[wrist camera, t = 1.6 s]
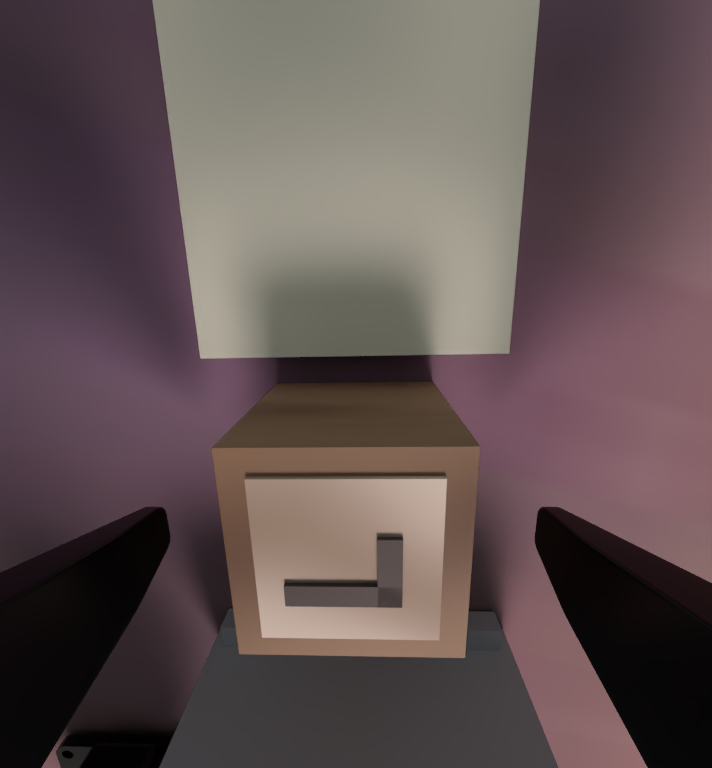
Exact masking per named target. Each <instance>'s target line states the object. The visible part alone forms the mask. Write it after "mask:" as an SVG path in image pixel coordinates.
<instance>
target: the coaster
mask: <svg viewBox="0 0 712 768" xmlns="http://www.w3.org/2000/svg"><path fill="white" fill-rule="evenodd" d="M152 1H153V8H154V16H155V23H156V31H157V38H158V45H159V53H160V60H161V68H162V75H163V83H164V90H165V98H166V105H167V113H168V120H169V128H170V135H171V143H172V150H173V158H174V165H175V172H176V180H177V187H178V195H179V202H180V210H181V217H182V225H183V232H184V240H185V247H186V255H187V262H188V270H189V277H190V285H191V292H192V299H193V307H194V314H195V322H196V329H197V337H198V344H199V352H200V359H206V358H267V357H328V356H389V355H451V354H509V351H510V339H511V328H512V316H513V305H514V293H515V281H516V270H517V258H518V247H519V235H520V224H521V212H522V201H523V189H524V178H525V166H526V155H527V143H528V132H529V120H530V109H531V97H532V86H533V74H534V63H535V51H536V40H537V28H538V17H539V5H540V0H152Z"/></svg>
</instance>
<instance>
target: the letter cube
mask: <svg viewBox="0 0 712 768" xmlns="http://www.w3.org/2000/svg"><path fill="white" fill-rule="evenodd" d="M212 456H213V463H214V471H215V478H216V485H217V493H218V500H219V508H220V515H221V523H222V530H223V537H224V545H225V552H226V560H227V567H228V574H229V582H230V589H231V597H232V604H233V612H234V619H235V626H236V634H237V641H238V649H239V654H257V655H316V656H374V657H432V658H465V653H466V639H467V625H468V611H469V597H470V583H471V569H472V556H473V542H474V528H475V514H476V500H477V486H478V473H479V459H480V445H479V444H478V443H477V441H476V440H475V439H474V437H473V436H472V434H471V433H470V432H469V430H468V429H467V428H466V426H465V425H464V424H463V422H462V421H461V419H460V418H459V417H458V415H457V414H456V413H455V411H454V410H453V409H452V407H451V406H450V404H449V403H448V402H447V400H446V399H445V398H444V396H443V395H442V394H441V392H440V391H439V389H438V388H437V387H436V385H435V384H434V383H433V381H417V382H340V383H277V384H276V385H275V386H274V387H273V388H272V389H271V390H270V391H269V392H268V393H267V394H266V395H265V396H264V397H263V398H262V399H261V400H260V401H259V402H258V403H257V404H256V405H255V406H254V407H253V408H252V409H251V410H250V411H249V412H248V413H247V414H246V415H245V416H244V417H243V418H241V419H240V420H239V421H238V422H237V423H236V424H235V425H234V426H233V427H232V428H231V429H230V430H229V431H228V432H227V433H226V434H225V435H224V436H223V437H222V438H221V439H220V440H219V441H218V442H217V443H216V444H215V445H214V446H213V447H212Z"/></svg>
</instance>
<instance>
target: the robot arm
mask: <svg viewBox="0 0 712 768" xmlns="http://www.w3.org/2000/svg"><path fill="white" fill-rule="evenodd" d="M169 543H170V531H169V525H168V520H167V514H166V511H165V509H164V508H162V507H145V508H142V509H140V510H138V511H136V512H134V513H131V514H129V515H127V516H125V517H122V518H120V519H118V520H116V521H114V522H111V523H109V524H107V525H105V526H103V527H100V528H98V529H96V530H94V531H92V532H89V533H87V534H85V535H83V536H80V537H78V538H76V539H74V540H72V541H69V542H67V543H65V544H63V545H61V546H58V547H56V548H54V549H52V550H50V551H47V552H45V553H43V554H41V555H39V556H36V557H34V558H32V559H30V560H27V561H25V562H23V563H21V564H19V565H16V566H14V567H12V568H10V569H8V570H5V571H3V572H1V573H0V768H41V767H42V766H43V764H44V762H45V761H46V759H47V757H48V756H49V754H50V752H51V751H52V749H53V748H54V746H55V744H56V743H57V741H58V739H59V738H60V736H61V734H62V733H63V731H64V729H65V728H66V726H67V724H68V723H69V721H70V720H71V718H72V716H73V715H74V713H75V711H76V710H77V708H78V706H79V705H80V703H81V701H82V700H83V698H84V697H85V695H86V693H87V692H88V690H89V688H90V687H91V685H92V683H93V682H94V680H95V678H96V677H97V675H98V674H99V672H100V670H101V669H102V667H103V665H104V664H105V662H106V660H107V659H108V657H109V655H110V654H111V652H112V650H113V649H114V647H115V646H116V644H117V642H118V641H119V639H120V637H121V636H122V634H123V632H124V631H125V629H126V627H127V626H128V624H129V623H130V621H131V619H132V617H133V616H134V614H135V612H136V611H137V609H138V607H139V605H140V603H141V601H142V599H143V597H144V595H145V593H146V591H147V589H148V587H149V585H150V583H151V581H152V579H153V577H154V575H155V573H156V571H157V569H158V567H159V565H160V563H161V561H162V559H163V557H164V555H165V553H166V551H167V549H168V546H169ZM535 544H536V548H537V551H538V553H539V555H540V558H541V560H542V562H543V565H544V567H545V569H546V572H547V574H548V576H549V579H550V581H551V584H552V586H553V588H554V591H555V593H556V595H557V598H558V600H559V602H560V605H561V607H562V609H563V611H564V613H565V615H566V617H567V619H568V621H569V623H570V625H571V627H572V629H573V631H574V633H575V634H576V636H577V638H578V640H579V642H580V644H581V645H582V647H583V649H584V651H585V653H586V655H587V656H588V658H589V660H590V662H591V664H592V666H593V668H594V669H595V671H596V673H597V675H598V677H599V679H600V680H601V682H602V684H603V686H604V688H605V690H606V692H607V693H608V695H609V697H610V699H611V701H612V703H613V704H614V706H615V708H616V710H617V712H618V714H619V716H620V717H621V719H622V721H623V723H624V725H625V727H626V728H627V730H628V732H629V734H630V736H631V738H632V740H633V741H634V743H635V745H636V747H637V749H638V751H639V752H640V754H641V756H642V758H643V760H644V762H645V764H646V765H647V767H648V768H712V583H710V582H708V581H706V580H704V579H702V578H700V577H698V576H696V575H694V574H692V573H690V572H688V571H686V570H684V569H682V568H680V567H678V566H676V565H674V564H672V563H670V562H668V561H666V560H664V559H662V558H660V557H658V556H656V555H654V554H652V553H650V552H648V551H646V550H644V549H642V548H640V547H638V546H636V545H634V544H632V543H630V542H628V541H626V540H624V539H622V538H620V537H618V536H616V535H614V534H612V533H610V532H608V531H606V530H604V529H602V528H600V527H598V526H596V525H594V524H592V523H590V522H588V521H586V520H584V519H582V518H580V517H578V516H576V515H574V514H572V513H569V512H567V511H565V510H563V509H561V508H559V507H541V508H540V509H539V511H538V514H537V523H536V531H535ZM171 740H172V737H132V736H93V735H69V736H67V737H65V739H64V740H63V742H62V743H61V745H60V746H59V748H58V749H57V751H56V753H57V757H58V760H59V763H60V766H61V768H159V767H160V765H161V762H162V760H163V758H164V756H165V753H166V751H167V749H168V747H169V744H170V742H171Z"/></svg>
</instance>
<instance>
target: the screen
mask: <svg viewBox="0 0 712 768" xmlns="http://www.w3.org/2000/svg"><path fill="white" fill-rule="evenodd" d="M159 768H558V766H557V763H556V761H555V758H554V756H553V753H552V751H551V748H550V746H549V743H548V741H547V738H546V736H545V733H544V731H543V728H542V726H541V723H540V721H539V718H538V716H537V713H536V711H535V709H534V706H533V704H532V701H531V699H530V696H529V694H528V691H527V689H526V686H525V684H524V681H523V679H522V676H521V674H520V671H519V669H518V666H517V664H516V661H515V659H514V656H513V654H512V651H511V649H510V646H509V644H508V641H507V639H506V636H505V634H504V631H502V629H501V627H500V624H499V622H498V619H497V617H496V614H495V612H493V611H468V625H467V639H466V653H465V658H432V657H374V656H316V655H257V654H239V649H238V641H237V634H236V626H235V619H234V612H233V609H228V611H227V614H226V616H225V618H224V620H223V623H222V625H221V627H220V631H219V633H218V636H217V638H216V640H215V642H214V645H213V647H212V649H211V651H210V654H209V656H208V658H207V660H206V663H205V665H204V667H203V670H202V672H201V674H200V676H199V679H198V681H197V683H196V685H195V688H194V690H193V692H192V694H191V697H190V699H189V701H188V704H187V706H186V708H185V710H184V713H183V715H182V717H181V719H180V722H179V724H178V726H177V728H176V731H175V733H174V735H173V738H172V740H171V742H170V744H169V747H168V749H167V751H166V753H165V756H164V758H163V760H162V762H161V765H160V767H159Z"/></svg>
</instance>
